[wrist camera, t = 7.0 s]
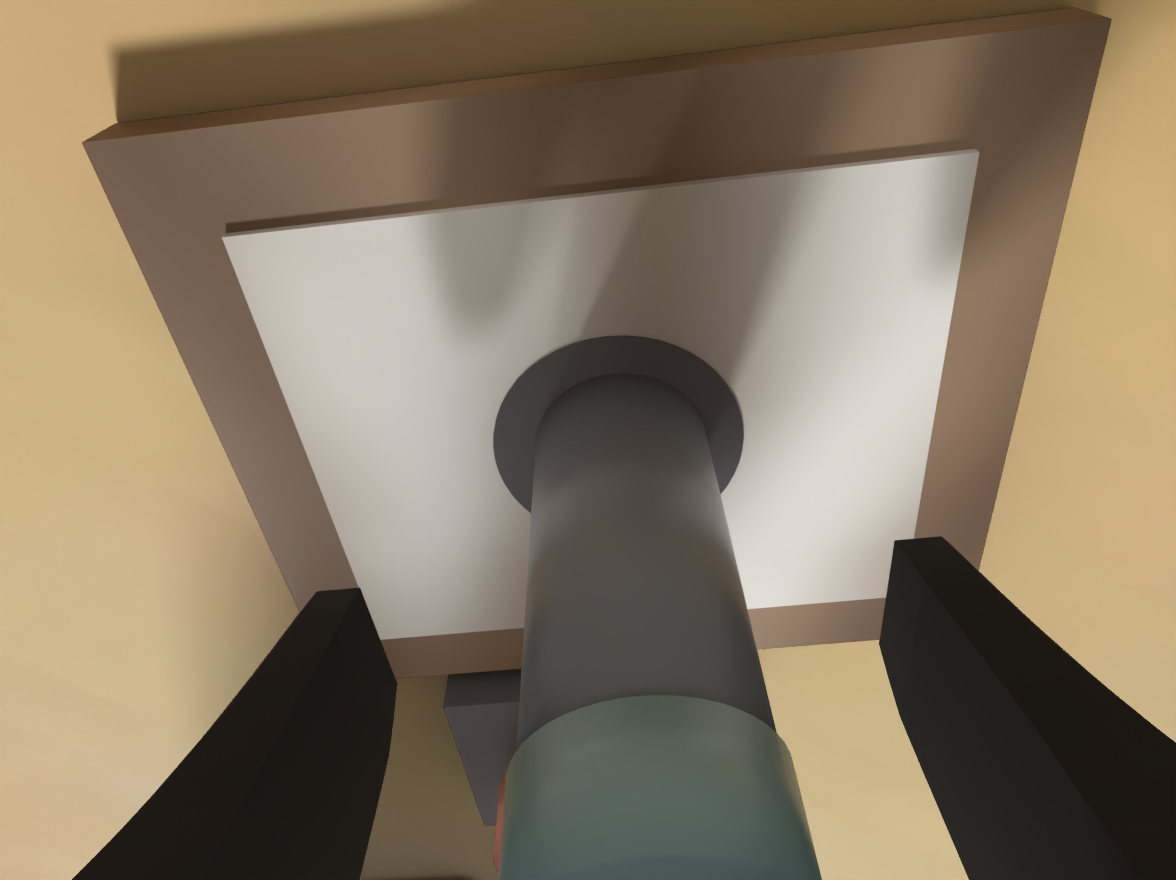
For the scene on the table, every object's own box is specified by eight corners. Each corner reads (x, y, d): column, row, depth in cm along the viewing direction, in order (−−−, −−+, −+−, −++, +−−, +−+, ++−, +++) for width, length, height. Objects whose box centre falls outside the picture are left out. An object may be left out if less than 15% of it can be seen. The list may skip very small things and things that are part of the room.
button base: (489, 772, 22) (484, 825, 21) (452, 654, 19) (443, 707, 18) (671, 759, 22) (677, 812, 21) (661, 636, 19) (667, 689, 18)
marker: (543, 522, 15) (523, 1016, 9) (516, 378, 13) (464, 869, 7) (713, 507, 15) (821, 998, 9) (709, 358, 13) (843, 841, 7)
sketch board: (343, 648, 19) (330, 691, 18) (115, 124, 12) (73, 146, 11) (946, 598, 18) (967, 640, 17) (1073, 7, 11) (1121, 21, 10)
